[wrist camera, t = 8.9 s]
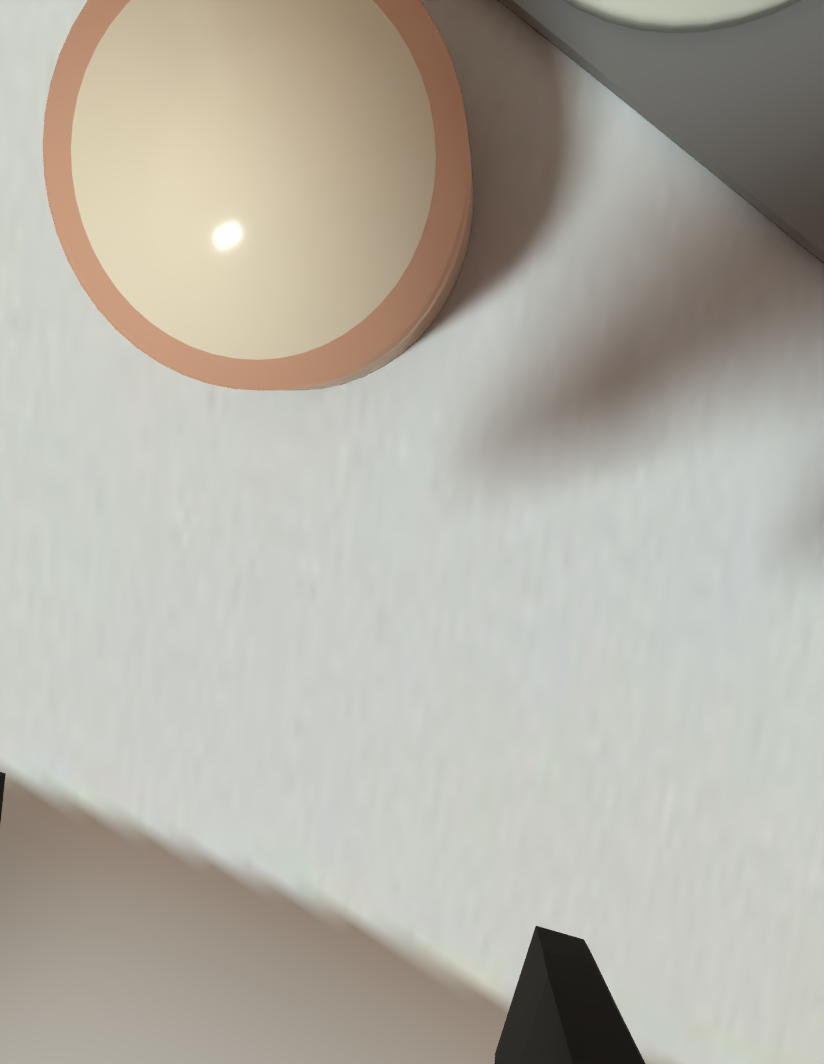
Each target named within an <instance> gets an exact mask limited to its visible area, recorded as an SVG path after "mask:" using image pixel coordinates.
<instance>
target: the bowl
mask: <svg viewBox="0 0 824 1064" xmlns="http://www.w3.org/2000/svg"><path fill="white" fill-rule="evenodd" d="M43 158H44V176H45V183H46V189H47V195H48V201H49V206H50V210H51V214H52V217H53V221H54V224H55V228H56V232H57V235H58V237H59V240H60V242H61V245H62V247H63V250H64V252H65V255H66V257H67V260H68V262H69V263H70V265H71V267H72V269H73V271H74V273H75V275H76V276H77V278H78V280H79V282H80V284H81V286H82V287H83V289H84V290H85V291H86V293H87V294H88V296H89V297H90V299H91V300H92V301H93V303H94V304H95V306H96V307H97V309H98V310H99V311H100V312H101V313H102V314H103V315H104V316H105V318H106V319H107V320H108V321H109V322H110V323H111V324H112V325H113V327H114V328H115V329H116V330H117V331H118V332H120V333H121V334H122V335H123V336H124V337H125V338H126V339H128V340H129V341H130V342H131V343H132V344H133V345H134V346H136V347H137V348H138V349H140V350H141V351H143V352H144V353H145V354H147V355H148V356H150V357H151V358H153V359H154V360H156V361H157V362H159V363H161V364H163V365H165V366H167V367H169V368H171V369H173V370H174V371H176V372H178V373H180V374H182V375H185V376H188V377H191V378H194V379H197V380H199V381H202V382H205V383H208V384H213V385H218V386H223V387H228V388H233V389H247V390H311V389H323V388H327V387H332V386H337V385H342V384H345V383H348V382H351V381H353V380H356V379H359V378H362V377H364V376H366V375H368V374H370V373H372V372H374V371H376V370H378V369H380V368H381V367H383V366H385V365H386V364H388V363H389V362H391V361H392V360H393V359H395V358H396V357H398V356H399V355H400V354H402V353H403V352H404V351H405V350H406V349H407V348H409V347H410V346H411V345H412V344H413V343H414V342H415V341H416V340H417V339H418V338H419V337H420V336H421V335H422V334H423V333H424V331H425V330H426V329H427V328H428V327H429V325H430V324H431V323H432V322H433V321H434V319H435V318H436V317H437V315H438V313H439V312H440V310H441V309H442V307H443V306H444V304H445V302H446V301H447V299H448V298H449V295H450V293H451V291H452V289H453V287H454V285H455V283H456V281H457V279H458V276H459V274H460V271H461V268H462V265H463V262H464V259H465V256H466V252H467V248H468V243H469V238H470V233H471V228H472V217H473V204H474V195H473V174H472V165H471V156H470V146H469V137H468V128H467V121H466V115H465V109H464V103H463V97H462V91H461V88H460V85H459V81H458V78H457V75H456V72H455V68H454V65H453V62H452V59H451V57H450V54H449V52H448V50H447V48H446V45H445V43H444V41H443V39H442V36H441V34H440V32H439V30H438V28H437V26H436V25H435V23H434V22H433V20H432V18H431V17H430V15H429V13H428V12H427V10H426V8H425V7H424V5H423V4H422V2H421V1H420V0H88V1H87V3H86V4H85V6H84V7H83V9H82V11H81V12H80V14H79V16H78V17H77V19H76V21H75V22H74V24H73V26H72V28H71V30H70V32H69V34H68V37H67V39H66V41H65V43H64V45H63V48H62V50H61V52H60V54H59V58H58V61H57V64H56V67H55V71H54V74H53V77H52V80H51V84H50V89H49V94H48V100H47V105H46V111H45V120H44V135H43Z"/></svg>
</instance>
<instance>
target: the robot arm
mask: <svg viewBox="0 0 824 1064" xmlns="http://www.w3.org/2000/svg"><path fill="white" fill-rule="evenodd" d="M4 782H5V773H1V772H0V821H1V811H2V802H3V792H4ZM495 1064H645V1062H644V1060H643V1058H642V1056H641V1054H640V1052H639V1050H638V1048H637V1046H636V1044H635V1042H634V1040H633V1038H632V1036H631V1034H630V1032H629V1030H628V1028H627V1026H626V1024H625V1022H624V1020H623V1018H622V1016H621V1014H620V1012H619V1010H618V1008H617V1006H616V1004H615V1001H614V999H613V997H612V995H611V993H610V991H609V989H608V987H607V985H606V983H605V981H604V979H603V977H602V975H601V972H600V970H599V968H598V966H597V964H596V962H595V960H594V958H593V956H592V954H591V952H590V950H589V948H588V946H587V944H586V943H585V941H584V939H580V938H577V937H573V936H570V935H566V934H563V933H559V932H556V931H552V930H549V929H545V928H542V927H538V926H536V927H535V930H534V934H533V937H532V940H531V943H530V946H529V949H528V952H527V955H526V959H525V962H524V965H523V968H522V971H521V974H520V977H519V981H518V984H517V987H516V990H515V993H514V996H513V999H512V1003H511V1006H510V1009H509V1012H508V1015H507V1019H506V1021H505V1025H504V1028H503V1031H502V1034H501V1037H500V1040H499V1043H498V1046H497V1050H496V1053H495Z"/></svg>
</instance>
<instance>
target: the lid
mask: <svg viewBox="0 0 824 1064" xmlns="http://www.w3.org/2000/svg"><path fill="white" fill-rule="evenodd" d="M564 1H565V2H567V3H569V4H570V5H572V6H573V7H575V8H577V9H578V10H581V11H583V12H585V13H588V14H590V15H592V16H595V17H597V18H599V19H602V20H604V21H606V22H609V23H613V24H617V25H621V26H625V27H629V28H633V29H636V30H644V31H653V32H663V33H690V32H706V31H712V30H717V29H723V28H728V27H734V26H738V25H741V24H744V23H747V22H750V21H753V20H757V19H760V18H763V17H766V16H769V15H772V14H774V13H776V12H778V11H780V10H782V9H784V8H786V7H788V6H791V5H793V4H795V3H797V2H799V1H801V0H564Z"/></svg>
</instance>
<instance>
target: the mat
mask: <svg viewBox="0 0 824 1064" xmlns="http://www.w3.org/2000/svg"><path fill="white" fill-rule="evenodd" d="M500 1H501V2H502V3H503V4H505V5H506V6H507V7H508V8H510V9H511V10H512V11H513V12H514V13H516V14H517V15H518V16H519V17H521V18H522V19H523V20H524V21H526V22H527V23H528V24H529V25H531V26H532V27H533V28H534V29H535V30H537V31H538V32H539V33H540V34H542V35H543V36H544V37H545V38H547V39H548V40H549V41H550V42H552V43H553V44H554V45H555V46H556V47H558V48H559V49H560V50H561V51H563V52H564V53H565V54H566V55H568V56H569V57H570V58H571V59H572V60H574V61H575V62H576V63H577V64H579V65H580V66H581V67H582V68H584V69H585V70H586V71H587V72H589V73H590V74H591V75H592V76H593V77H595V78H596V79H597V80H598V81H600V82H601V83H602V84H603V85H605V86H606V87H607V88H608V89H610V90H611V91H612V92H613V93H614V94H616V95H617V96H618V97H619V98H621V99H622V100H623V101H624V102H626V103H627V104H628V105H629V106H630V107H632V108H633V109H634V110H635V111H637V112H638V113H639V114H640V115H642V116H643V117H644V118H645V119H647V120H648V121H649V122H650V123H651V124H653V125H654V126H655V127H656V128H658V129H659V130H660V131H661V132H663V133H664V134H665V135H666V136H668V137H669V138H670V139H671V140H672V141H674V142H675V143H676V144H677V145H679V146H680V147H681V148H682V149H684V150H685V151H686V152H687V153H689V154H690V155H691V156H692V157H693V158H695V159H696V160H697V161H698V162H700V163H701V164H702V165H703V166H705V167H706V168H707V169H708V170H709V171H711V172H712V173H713V174H714V175H716V176H717V177H718V178H719V179H721V180H722V181H723V182H724V183H726V184H727V185H728V186H729V187H730V188H732V189H733V190H734V191H735V192H737V193H738V194H739V195H740V196H742V197H743V198H744V199H745V200H747V201H748V202H749V203H750V204H751V205H753V206H754V207H755V208H756V209H758V210H759V211H760V212H761V213H763V214H764V215H765V216H766V217H767V218H769V219H770V220H771V221H772V222H774V223H775V224H776V225H777V226H779V227H780V228H781V229H782V230H784V231H785V232H786V233H787V234H788V235H790V236H791V237H792V238H793V239H795V240H796V241H797V242H798V243H800V244H801V245H802V246H803V247H805V248H806V249H807V250H808V251H809V252H811V253H812V254H813V255H814V256H816V257H817V258H818V259H819V260H821V261H822V262H823V263H824V0H801V1H799V2H797V3H795V4H793V5H791V6H788V7H786V8H784V9H782V10H780V11H778V12H776V13H774V14H772V15H769V16H766V17H763V18H760V19H757V20H753V21H750V22H747V23H744V24H741V25H738V26H734V27H728V28H723V29H717V30H712V31H706V32H690V33H663V32H653V31H644V30H636V29H633V28H629V27H625V26H621V25H617V24H613V23H609V22H606V21H604V20H602V19H599V18H597V17H595V16H592V15H590V14H588V13H585V12H583V11H581V10H578V9H577V8H575V7H573V6H572V5H570V4H569V3H567V2H565V1H564V0H500Z"/></svg>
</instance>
